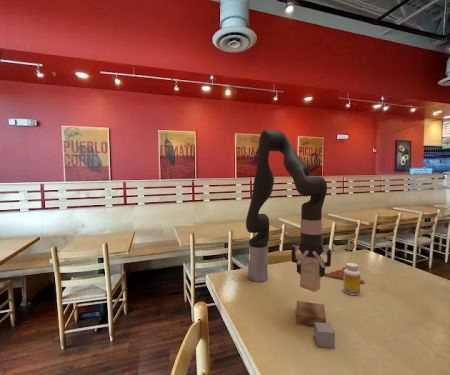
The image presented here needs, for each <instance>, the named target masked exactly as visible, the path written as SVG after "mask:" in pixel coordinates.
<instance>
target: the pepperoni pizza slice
mask: <svg viewBox="0 0 450 375" xmlns="http://www.w3.org/2000/svg"><path fill="white" fill-rule="evenodd" d="M346 268H347V267H346V266H345V267H342V268H341V269H340V268H339V269H337V270H335V271H331V272H330V273H329V272H325V276H324V277H325V278H329V279H330V278H331V279H333V280H338V281H339V280H340V281H343V282H344V270H345V269H346ZM364 284H365V279H364V280H363V279H360V285H364Z"/></svg>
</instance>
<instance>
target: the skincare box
mask: <svg viewBox="0 0 450 375" xmlns="http://www.w3.org/2000/svg"><path fill="white" fill-rule="evenodd" d="M300 256H302V255H301V254H300ZM320 256H321V255H320ZM320 256H319V257H320ZM321 257H322V256H321ZM321 257H320V258H321ZM299 275H300V276H299V278H300V279H299V287H300V288H302V289H304V290H308V291H310V292H313V293H317V291H319V290H321V280H322V279H321V278H322V277H321V265H320V263H319V262H318V258H315V257H305V258H304V259H303V261H302V262H301V273H300V274H299Z"/></svg>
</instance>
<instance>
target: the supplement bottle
mask: <svg viewBox="0 0 450 375" xmlns="http://www.w3.org/2000/svg"><path fill="white" fill-rule="evenodd" d="M345 267H347V268H346V269H345V270H344V281H343V292H344V293H346V294H347V295H351V296H358V295H360V293H361V284H360V280H361V272H360V270H359V265H358V264H357V263H355V262H347V263H346V266H345Z"/></svg>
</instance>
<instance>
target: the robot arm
mask: <svg viewBox="0 0 450 375" xmlns="http://www.w3.org/2000/svg"><path fill="white" fill-rule="evenodd" d="M270 152H280V154H282V156H283V166H284V168H285V169H284V170H286V171H287V173H288V174H289V176H291V178H292V180H293V183H294V186H295V189H296V191H297V193H298V194H299V195H301V196H303V197H310V198H309V200H308V201H306V202H304V203H302V204H301V209H300V210H301V213H300V214H301V217H300V218H301V219H300V232H299V236H300V244H299V245H295V244H293V245H292V246H291V249H290V250H291V262H292V263H295V264H296V273H298V275H300V273H301V262H302V261H303V259H304V258H305V257H315V258H318V262H319V263H320V265H321V278H324V277H325V273H326V268H327V267H331V266H332V265H331V263H332V249H331V248H330V247H329V248H323V221H322V220H323V218H322V217H323V216H322V215H323V214H322V212H323V210H322V209H323V206H324V204H325V203H324V202H325V199H326V195H327V192H328V183H327V181H326V179H325V178H324V177H322V176H317V175H316V176H309V175H310V172H311V170H310V168H309V166H308V165H307V164H306V163H305V162H304V161H303V159H302V158H301V157H300V156H299V155H298V154H297V152H296V151H295V149H294V146H293V145H292V143H291V142H290V140H289V138H288V137H287V135H286V134H285V132H284V131H282V130H277V129H264V130H263V131H261V134H260V135H259V139H258V149H257V160H256V162H257V163H256V170H255V173H254V174H255V175H254V179H253V185H252V192H251V193H252V194H251V197H250V198H251V199H250V203H249V207H248V210H247V215H246V220H245V228H246V230H247V232H248V233H250V234H256V235H255V236H253V237H251V238H250V239H249V242H248V243H249V244H248V245H249V247H248V248H249V249H248V250H249V252H248V253H249V255H248V256H249V260H248V261H247V263H248V265H247V267H248V268H247V273H248V274H247V276H248V278H247V279H248V280H251V281H253V282H256V283H257V282H258V283H259V282H260V283H262V282H263V283H264V282H266V281H268V277H269V276H268V274H269V273H268V270H269V269H268V268H269V267H268V262H269V261H268V258H269V257H268V252H269V250H268V244H269V240H270V239H269V238H270V218H269V216H268V215H267V214H266V213H260V210H261V208H262V207H263V205H264V204H265V203H266V202H267V200H268V199H269V198H270V196H271V195H272V193H273V188H274V183H275V176H274V173H273V171H272V169H271V167H270V164H269V155H270ZM298 250H299V251H300V253H301V254H300V256H299V257H298V258H297V257H296V256H297V255H296V254H297V252H298ZM323 253H324V254H325V256H326V261H324V259H323V257H322V256H321V255H322V254H323ZM301 255H302V256H301ZM319 256H320V257H321V258H320V257H319Z"/></svg>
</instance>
